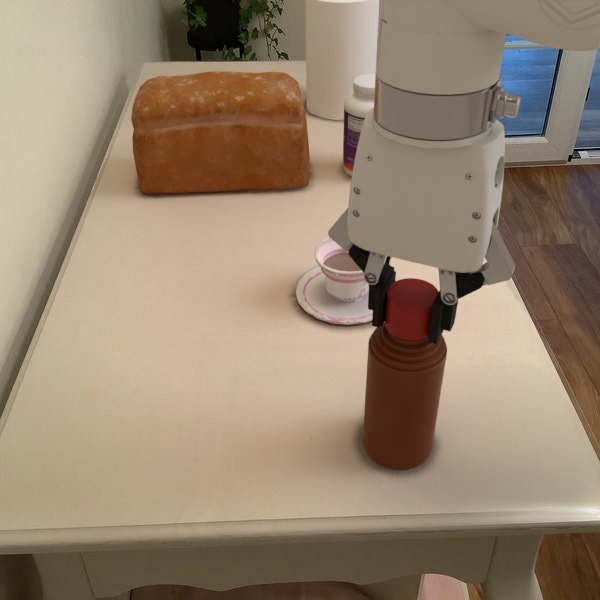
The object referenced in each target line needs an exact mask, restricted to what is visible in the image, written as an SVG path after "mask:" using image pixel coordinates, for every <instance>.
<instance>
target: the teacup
mask: <svg viewBox="0 0 600 600" xmlns="http://www.w3.org/2000/svg"><path fill="white" fill-rule="evenodd" d="M314 259H315V262H316V263H317V265H318V266H316V267H313V268H312V269H311V270H309V271H308V272H306V273H304V274H303V275H302V277H301V278H300V279H299V281H297V285H296V289H295V296H296V300H297V304H298V305H299V306H300V307H301V308H302V309H303V310H304V312H305V313H307V314H309V315H311V316H312V317H314V318H316V319H317V320H320V321H324V322H326V323H331V324H334V325H335V324H336V325H349V326H350V325H351V326H352V325H359V324H366V323H369V322H372V316H373V310H369V309H368V296H369V284H368V283H366V282H365V280H364V272H363V271H362V270H361V269H360V268H359V267H358V265H357V264H356V263H355V262H354V261H353V259H352V258H351V257H350V256H349V252H348V251H347V250H344V249H343V248H342V247H341V246H339V245H338V244H337V243H336V242H335V241H333V240H332V239H331V238H330V237H329V236H327V237H325V238H324V239H323V240H321V241H320V242H319V243H318V244H317V246H316V247H315V249H314Z"/></svg>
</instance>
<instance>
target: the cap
mask: <svg viewBox="0 0 600 600" xmlns="http://www.w3.org/2000/svg"><path fill="white" fill-rule="evenodd" d="M438 292H439V289H438V288H437V287H436V286H435V285H434V284H432V283H431V282H429V281H427V280H424V279H421V278H414V277H413V278H412V277H408V278H401V279H398V280H395V282H394V283H392V284H391V285H390V287H389V289H388V290H387V300H386V313H385V326H386V329H387V330H388V331H389V333H391V334H392V335H393V336H395V337H397V338H400V339H403V340H408V341H417V340H422V339H425V338H427V337H429V329H430V321H431V314H432V306H433V302H434V300H435V298H436V296H437V294H438Z"/></svg>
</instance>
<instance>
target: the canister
mask: <svg viewBox="0 0 600 600" xmlns="http://www.w3.org/2000/svg"><path fill="white" fill-rule="evenodd" d="M304 2H305V4H304V8H305V9H304V10H305V12H304V13H305V15H304V17H305V81H306V82H305V88H306V93H305V95H306V109H307V111H308V113H310V114H312V115H314V116H316V117H319V118H322V119H325V120H326V119H327V120H332V121H344V102H345V100H346V98H347V97H348V96H349V95H350V94H351V93H353V92H354V91H353V81H354V79H355V78H356V77H358V76H361V75H366V74H376V56H377V37H378V17H379V0H304Z"/></svg>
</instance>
